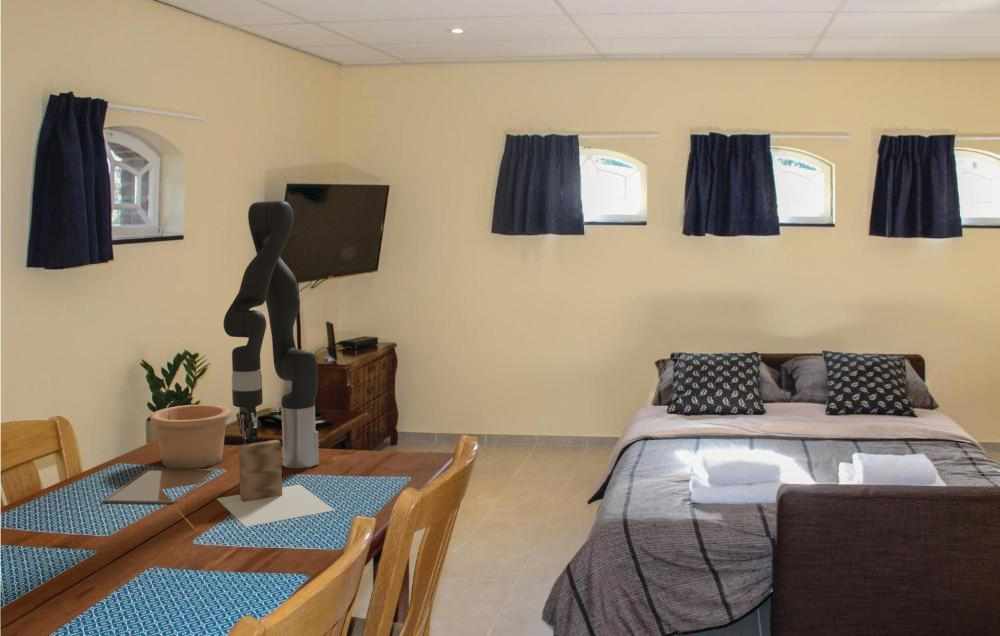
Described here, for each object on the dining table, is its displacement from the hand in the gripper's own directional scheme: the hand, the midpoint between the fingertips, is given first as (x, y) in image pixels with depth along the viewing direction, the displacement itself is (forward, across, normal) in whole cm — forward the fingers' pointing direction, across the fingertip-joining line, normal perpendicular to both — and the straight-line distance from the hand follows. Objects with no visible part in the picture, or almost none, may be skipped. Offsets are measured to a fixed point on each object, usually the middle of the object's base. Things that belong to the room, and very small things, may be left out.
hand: (249, 452), depth 247 cm
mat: (+10, -16, -1) cm, 19 cm away
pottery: (+10, +35, +6) cm, 37 cm away
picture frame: (+11, +15, +19) cm, 26 cm away
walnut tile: (+10, -9, 0) cm, 13 cm away
